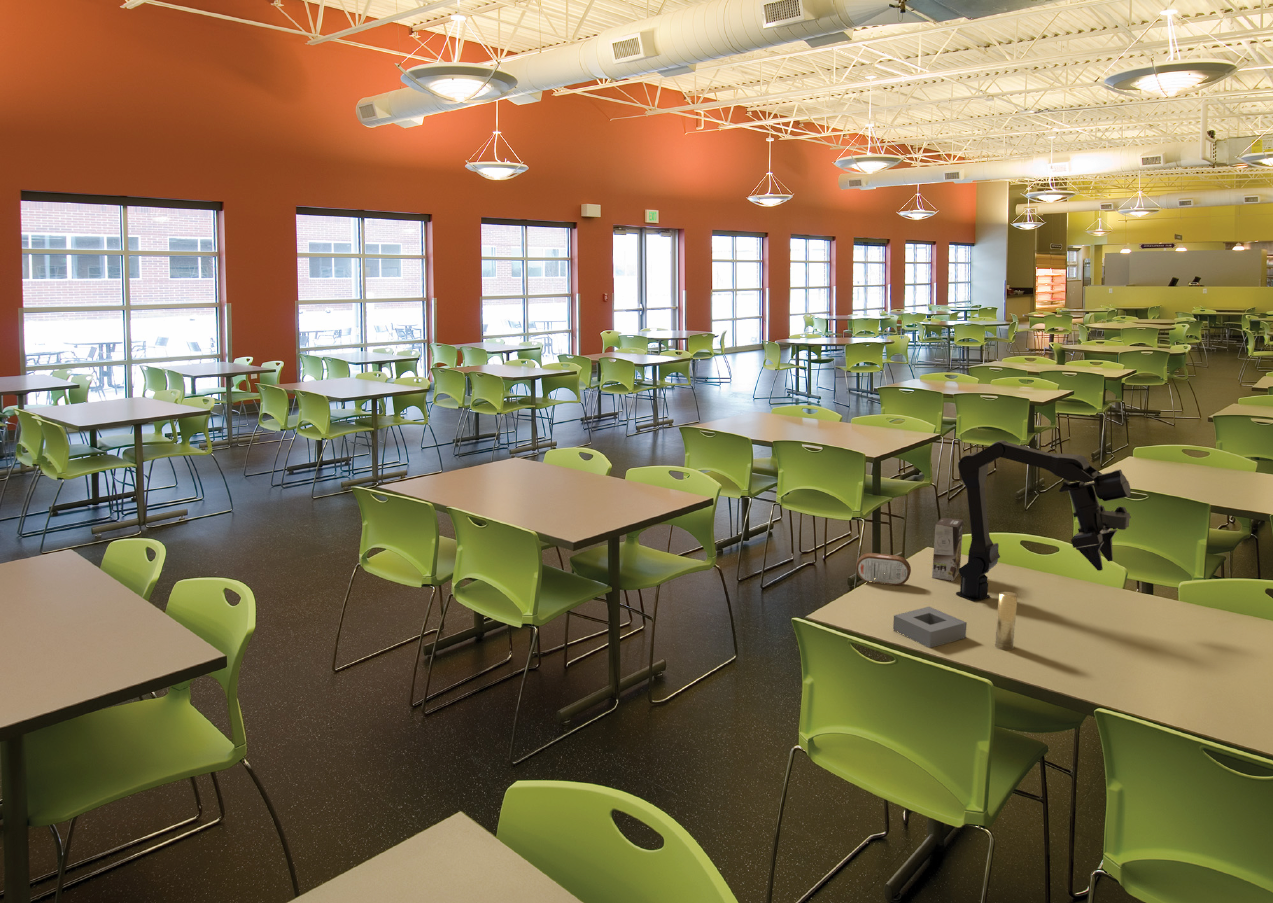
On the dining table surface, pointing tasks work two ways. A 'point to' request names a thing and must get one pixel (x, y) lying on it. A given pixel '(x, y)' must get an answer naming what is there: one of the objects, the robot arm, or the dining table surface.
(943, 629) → the dock block
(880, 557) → the tin
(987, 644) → the dining table surface
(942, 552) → the coffee box
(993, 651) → the dining table surface
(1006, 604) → the peg
